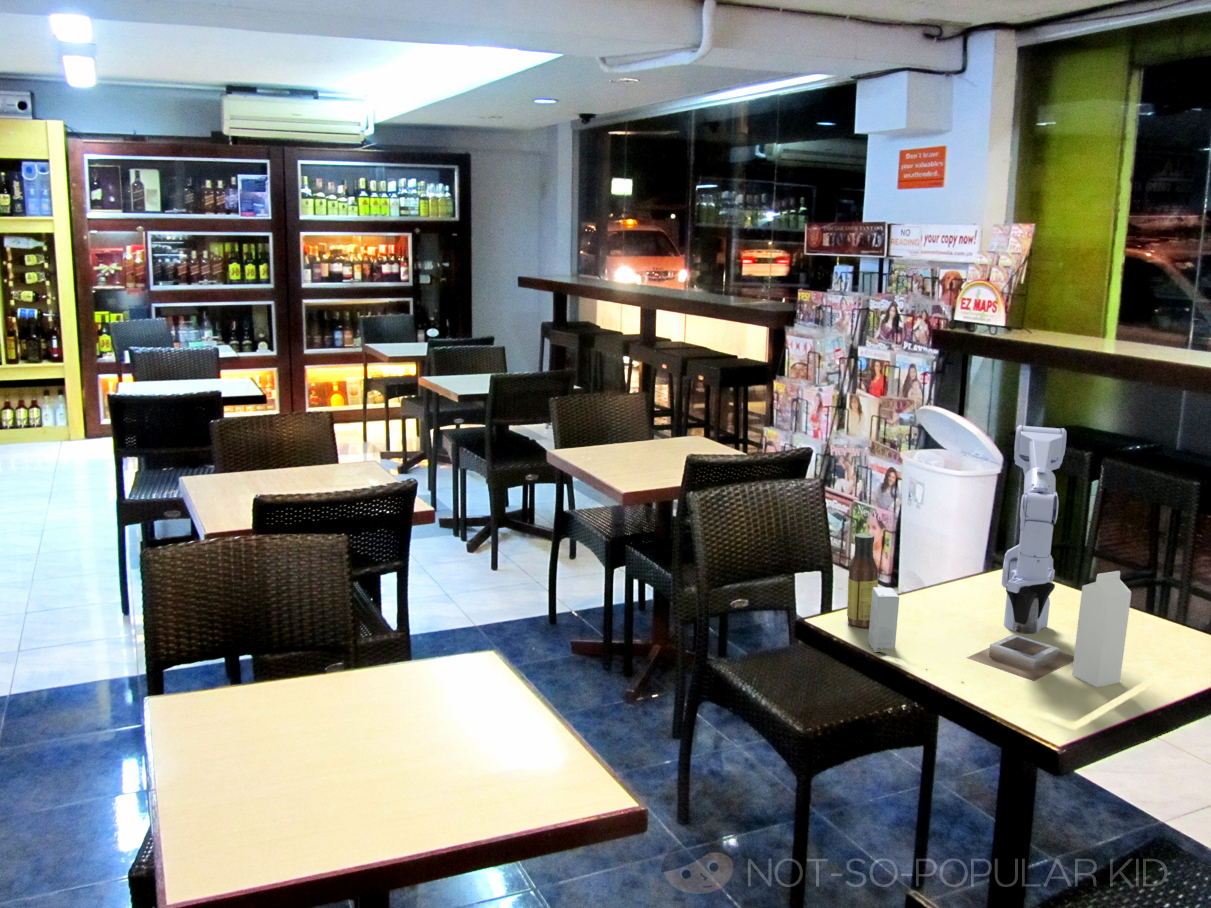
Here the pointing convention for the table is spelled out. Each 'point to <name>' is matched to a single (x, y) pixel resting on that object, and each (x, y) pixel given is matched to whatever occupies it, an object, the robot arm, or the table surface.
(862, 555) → the sauce bottle
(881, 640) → the skincare box
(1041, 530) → the robot arm
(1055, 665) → the walnut base plate
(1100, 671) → the milk
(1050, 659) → the square metal frame
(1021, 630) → the cylinder
